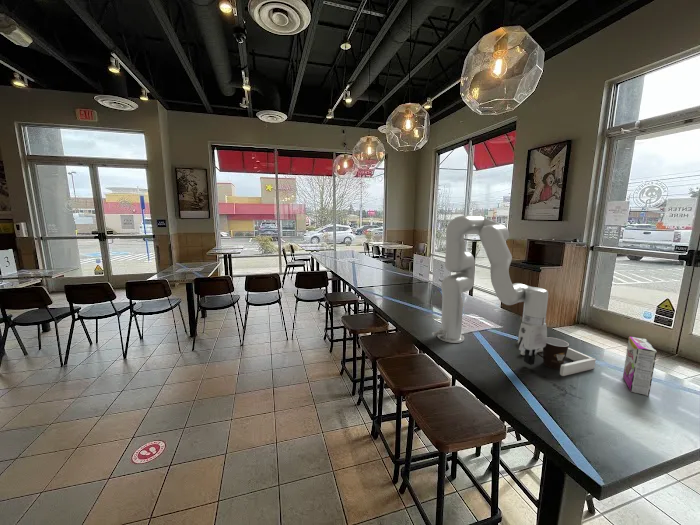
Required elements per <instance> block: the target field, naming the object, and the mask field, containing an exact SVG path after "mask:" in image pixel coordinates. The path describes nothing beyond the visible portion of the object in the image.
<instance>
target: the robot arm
mask: <svg viewBox="0 0 700 525" xmlns="http://www.w3.org/2000/svg"><path fill="white" fill-rule="evenodd" d="M465 235H477V236H478V237H479V240H480V242H481V245H482V247H483V250H484V251H485V254H486V257H487V258H488V261H489V264H490V268H489V270H490V280H491V281H490V282H491V285H492V287H493V291H494V292H495V294H496V296H497V298H498V301H500V302H501V303H502V304H504V305H506V306H513V305H515V304H518V303H523V310H522V311H523V312H522V322H521V324H520V328H519V331H518V338H517V345H518V346H519V347H518V350H519V351H520V352H521V351H523V352H524V353H525V355H524V359H523V361H524V363H526V364H528V365H530V366H533V365H535V362H536V355H538V354H537V353H538V352H537V351H538V349H540V348H544V347H545V346H546V342H547V337H548V328H547V323H546V320H547V312H548V311H547V310H548V301H549V291H548V290H547V289H545V288H542V287H537V286H536V287H535V286H530V285H527V284H523V283H522V282H521V283H520V282H515V283H513V282H512V279H511V277H510V272H509V271H510V270H509V269H510V266H511V263H512V261H513V255H512V253H511V251H510V248H509V247H508V244H507V242H506V241H507V240H508V239H509V236H510V232H509V229H508V227H506V226H505V225H504V224H501V223H499V222H497V221H494V220H492V219H489V218H486V217H484V216H481V215H470V214H469V215H467V214H465V215H460V216H457V217H454V218H452V219H451V221H449V222H448V224H447V226H446V229H445V260H444V261H445V262H444V264H445V266H444V267H445V268H446V270H447V272H450V273H455V274H449V275H447V276H446V277H444V278H443V279H442V281H441V284H440V285H441V287H440V288H441V297H442V299H441V300H442V301H441V302H442V305H441V320H440V321H441V322H440V323H441V324H440V327H439V328H438V330H437V331H432V332H431V335H432V336H433V337H434V336H437V339H439V340H440V341H443V342H446V343H450V344H458V343H462V342H464V341H465V336H464V335H463V334H462V329H463V328H462V326H463V312H464V300H463V297H462V294H463V293H466V292H469V291H470V290H472V289H473V286H474V285H475V273H476V272H475V271H476V260H475V257H474V255H473V254H472V253H471V252H470V251H466V241H465V238H464V236H465Z"/></svg>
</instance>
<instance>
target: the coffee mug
mask: <svg viewBox="0 0 700 525" xmlns="http://www.w3.org/2000/svg"><path fill="white" fill-rule="evenodd" d="M568 348H570V343H569V342H567V341H566V340H564V339H562V338H561V339H560V338H556V337H548V336H547V342H546V346H545V347H544V348H543V351H542V354H543V355H541V354H540V353H539V352H537V354H536V355H538V356H539V357H541V358H542V361H543V362H542V363H543V365H544V366H545V367H547V368H550V369H554V370H560V368H561V365H562V364H565V360H566V358H567V357H566V354H567V350H568Z"/></svg>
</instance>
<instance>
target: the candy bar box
mask: <svg viewBox="0 0 700 525" xmlns="http://www.w3.org/2000/svg"><path fill="white" fill-rule="evenodd" d="M625 354H626V355H625V361H624V367H623V373H622V378H623V380H624V381H625V384H626V385H627V387H628V390H629V391H630V393H634V394H637V395H642V396H646V397H650V392H651V387H652V380H653V377H654V369H655V364H656V357H657V350H656V349H655V347H654V346H652V344H651V343H650V342H649V340H647V339H646V338H641V337H635V336H628V342H627V348H626V353H625Z"/></svg>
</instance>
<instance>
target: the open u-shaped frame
mask: <svg viewBox="0 0 700 525" xmlns="http://www.w3.org/2000/svg"><path fill="white" fill-rule="evenodd" d="M537 353H543V348H540V349H538V351H537ZM520 355H522V356H525V353H524V352H523V351H520ZM565 358H566V359H569V360H572V361H573V362H572V361H571V362H567V363H564V364H562V365H561V368H560V369H559V375H560V376H561V377H565V376H569V375H574V374H578V373H582V372H585V371H590V370H594V369H595V366H596V361H597V359H596V358H594V357H592V356H590V355H587V354H585V353H582V352H580V351H578V350H576V349H572V348H571V347H568V350H567V354H566V357H565Z"/></svg>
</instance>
